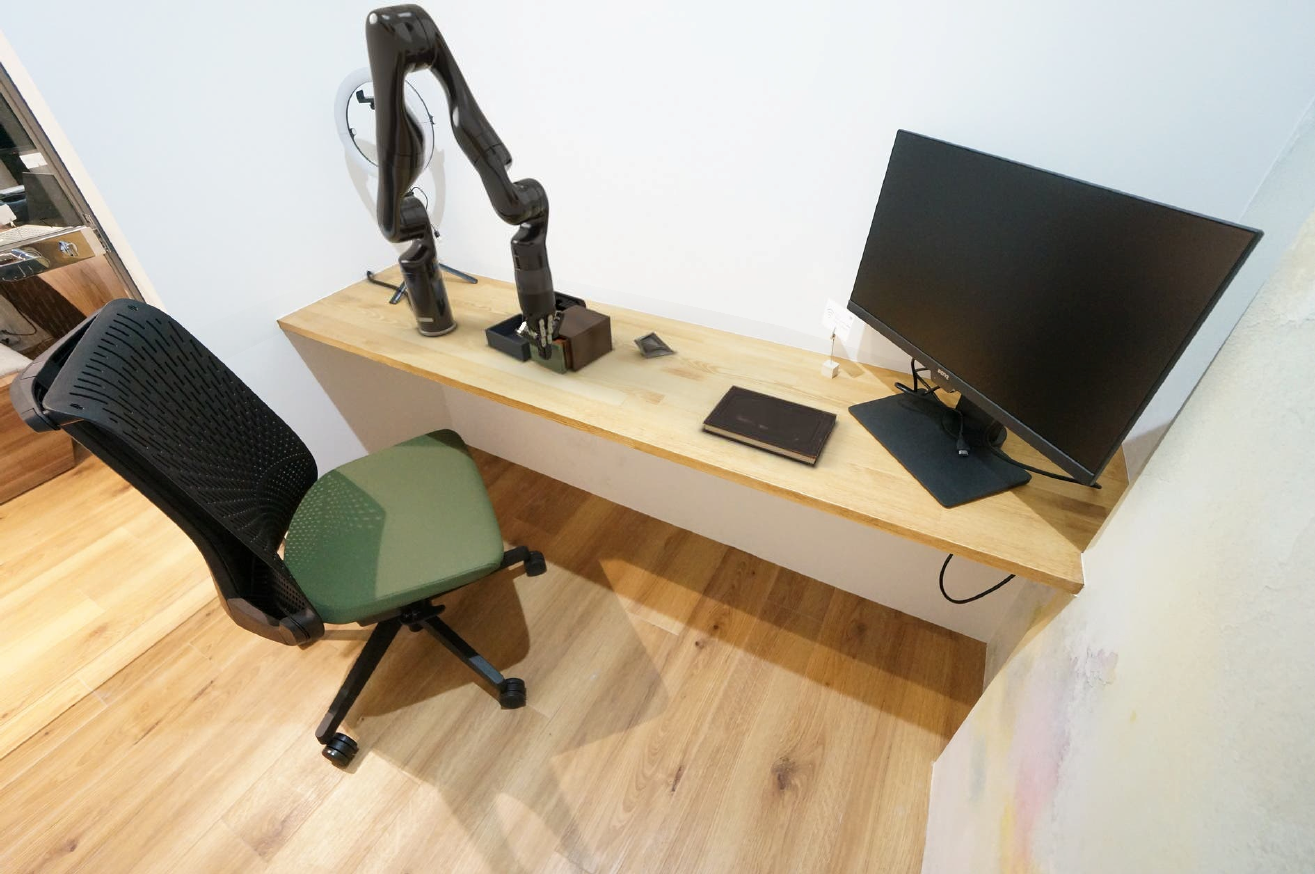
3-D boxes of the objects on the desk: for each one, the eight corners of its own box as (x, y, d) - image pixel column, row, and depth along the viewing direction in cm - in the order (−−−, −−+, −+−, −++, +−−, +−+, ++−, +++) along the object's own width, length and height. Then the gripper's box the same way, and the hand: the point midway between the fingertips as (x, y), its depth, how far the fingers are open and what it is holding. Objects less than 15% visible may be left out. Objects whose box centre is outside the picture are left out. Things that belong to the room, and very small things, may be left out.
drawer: (558, 376, 123) (554, 348, 119) (528, 362, 128) (523, 335, 124) (598, 352, 132) (596, 326, 127) (568, 340, 137) (565, 314, 132)
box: (488, 345, 137) (484, 329, 134) (522, 328, 144) (520, 313, 141) (524, 361, 130) (520, 345, 127) (558, 343, 137) (556, 327, 135)
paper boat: (662, 336, 137) (686, 340, 131) (656, 361, 138) (680, 365, 131) (626, 324, 129) (651, 327, 122) (620, 350, 130) (644, 354, 123)
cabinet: (574, 372, 126) (570, 338, 121) (541, 357, 132) (535, 324, 126) (612, 349, 135) (610, 316, 129) (579, 336, 140) (575, 304, 135)
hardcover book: (813, 467, 99) (815, 457, 98) (702, 431, 108) (702, 422, 107) (835, 421, 110) (837, 412, 109) (732, 392, 119) (733, 383, 118)
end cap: (588, 318, 148) (585, 295, 144) (570, 328, 144) (568, 305, 140) (561, 310, 153) (558, 287, 149) (544, 319, 148) (540, 296, 144)
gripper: (522, 300, 104) (535, 375, 115) (570, 279, 112) (578, 351, 123) (497, 291, 108) (512, 365, 119) (545, 271, 116) (555, 342, 127)
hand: (546, 358), depth 121 cm, fingers closed
